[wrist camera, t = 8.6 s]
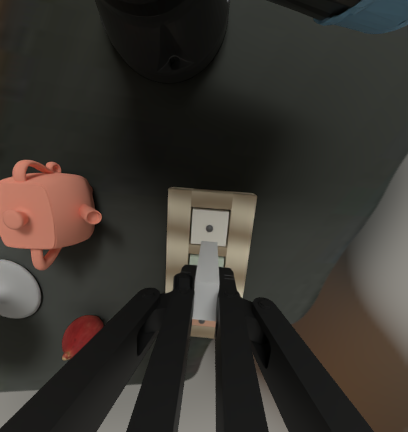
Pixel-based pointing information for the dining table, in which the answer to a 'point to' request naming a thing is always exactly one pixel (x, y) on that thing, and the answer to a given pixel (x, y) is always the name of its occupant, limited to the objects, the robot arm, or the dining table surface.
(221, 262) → the key two
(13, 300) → the chalice
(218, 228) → the key one
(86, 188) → the teapot
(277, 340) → the robot arm
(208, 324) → the key three
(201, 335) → the key board
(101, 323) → the onion
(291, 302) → the dining table surface
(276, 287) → the dining table surface
